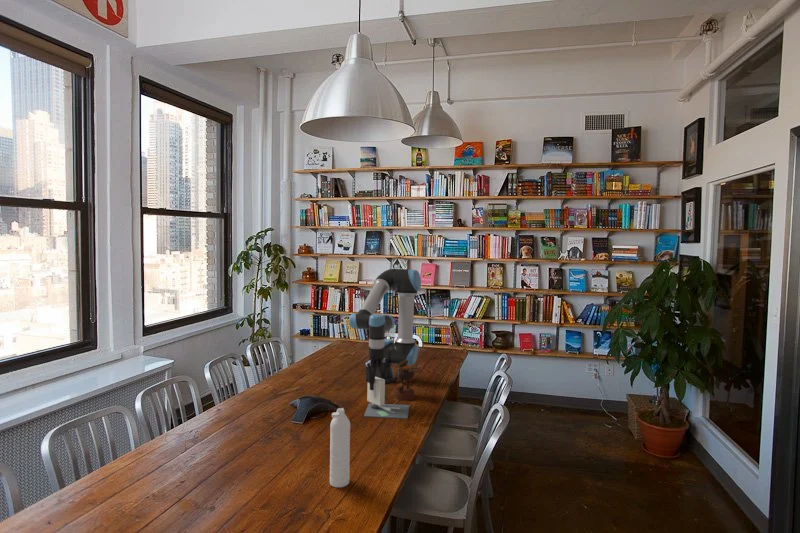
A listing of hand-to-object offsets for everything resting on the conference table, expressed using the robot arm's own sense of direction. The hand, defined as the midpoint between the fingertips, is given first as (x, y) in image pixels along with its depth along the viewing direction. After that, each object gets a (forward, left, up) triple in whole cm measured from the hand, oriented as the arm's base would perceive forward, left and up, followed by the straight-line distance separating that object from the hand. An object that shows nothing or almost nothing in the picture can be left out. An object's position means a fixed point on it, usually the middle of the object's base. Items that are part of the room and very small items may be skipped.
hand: (375, 395), depth 214 cm
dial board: (+3, +6, -6) cm, 9 cm away
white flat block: (+2, +2, -6) cm, 6 cm away
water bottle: (+68, -4, -7) cm, 69 cm away
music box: (-18, +13, -7) cm, 23 cm away
